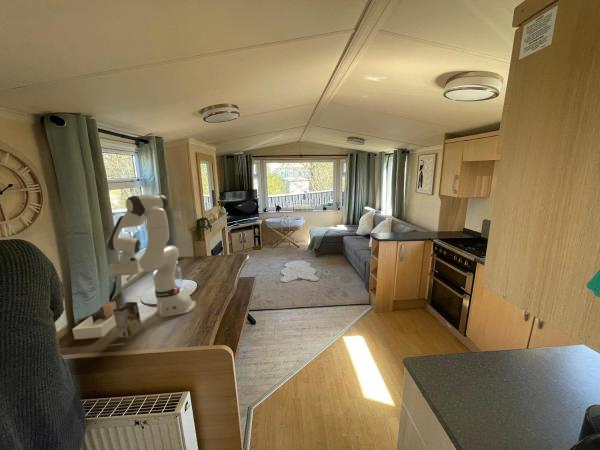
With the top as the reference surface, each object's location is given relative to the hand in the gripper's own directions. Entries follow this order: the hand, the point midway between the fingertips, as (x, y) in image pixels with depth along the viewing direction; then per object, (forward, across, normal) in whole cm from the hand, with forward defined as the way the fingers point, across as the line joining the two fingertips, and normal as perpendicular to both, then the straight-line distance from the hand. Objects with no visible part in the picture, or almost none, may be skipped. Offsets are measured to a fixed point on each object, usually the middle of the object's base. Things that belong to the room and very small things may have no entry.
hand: (120, 281), depth 168 cm
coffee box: (+36, +22, -12) cm, 44 cm away
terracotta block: (+22, 0, +2) cm, 22 cm away
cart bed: (+33, +2, -8) cm, 34 cm away
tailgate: (+28, +2, -4) cm, 28 cm away
